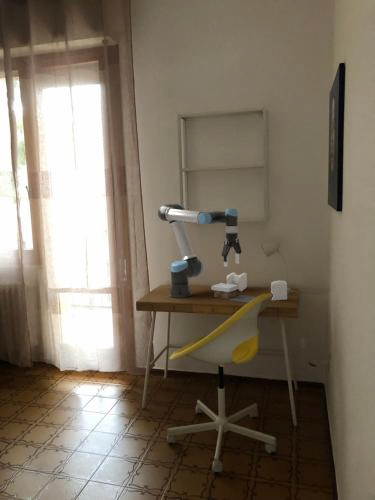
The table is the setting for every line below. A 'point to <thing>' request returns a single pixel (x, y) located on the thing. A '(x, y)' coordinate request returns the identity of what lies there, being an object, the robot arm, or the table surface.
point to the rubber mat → (242, 299)
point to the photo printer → (279, 290)
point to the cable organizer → (237, 280)
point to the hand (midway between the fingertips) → (231, 265)
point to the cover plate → (224, 287)
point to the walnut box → (225, 294)
